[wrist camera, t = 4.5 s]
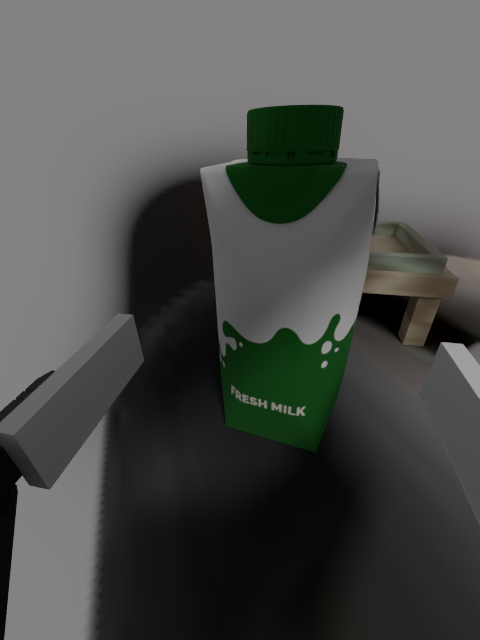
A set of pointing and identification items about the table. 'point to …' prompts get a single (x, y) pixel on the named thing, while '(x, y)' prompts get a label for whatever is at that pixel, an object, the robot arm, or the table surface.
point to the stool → (408, 276)
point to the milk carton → (288, 269)
